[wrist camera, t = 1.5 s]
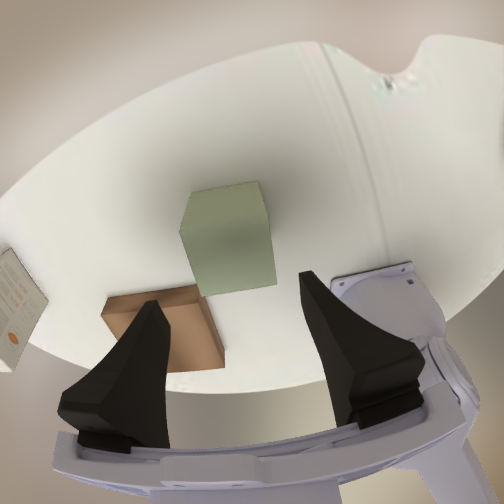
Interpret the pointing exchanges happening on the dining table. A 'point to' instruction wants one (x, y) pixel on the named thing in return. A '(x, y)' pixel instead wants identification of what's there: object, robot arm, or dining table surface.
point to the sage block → (228, 239)
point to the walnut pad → (174, 326)
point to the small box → (16, 309)
